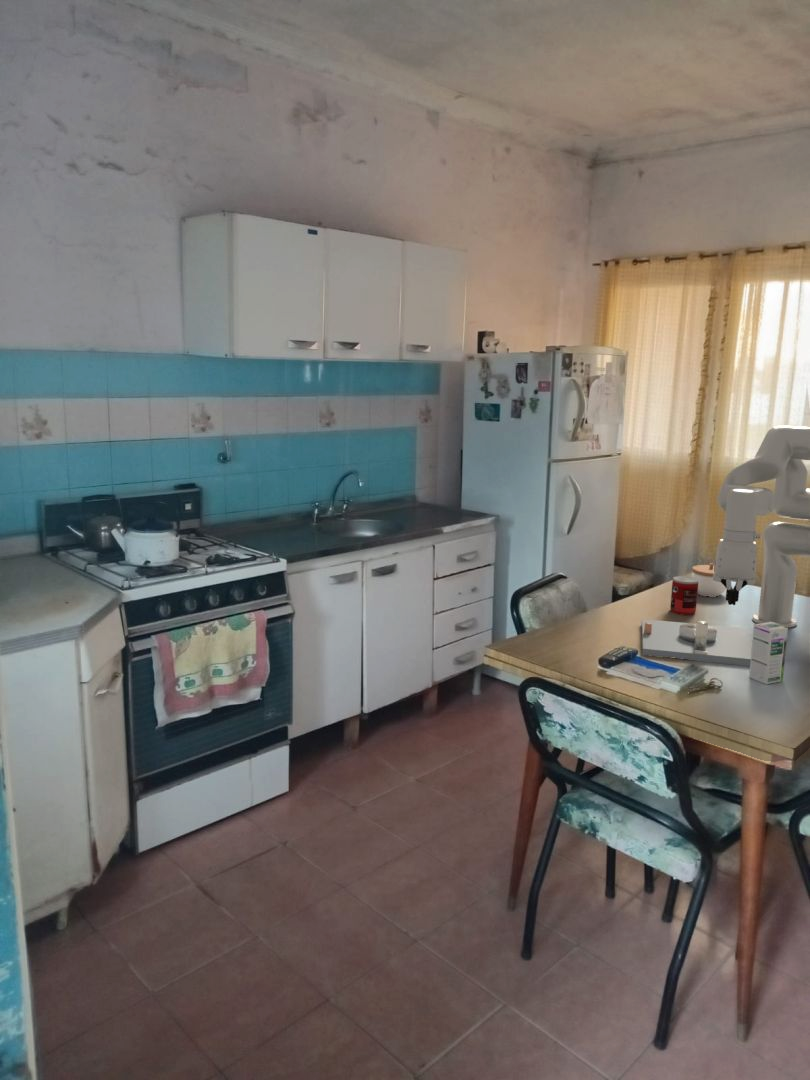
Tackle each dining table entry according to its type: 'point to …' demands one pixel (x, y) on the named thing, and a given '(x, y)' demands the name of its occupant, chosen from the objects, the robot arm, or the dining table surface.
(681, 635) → the grey piece
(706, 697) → the dining table surface
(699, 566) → the lidded bowl
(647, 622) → the board
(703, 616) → the dining table surface
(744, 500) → the robot arm
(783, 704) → the dining table surface
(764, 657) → the syrup box
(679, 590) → the canned food
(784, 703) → the dining table surface
